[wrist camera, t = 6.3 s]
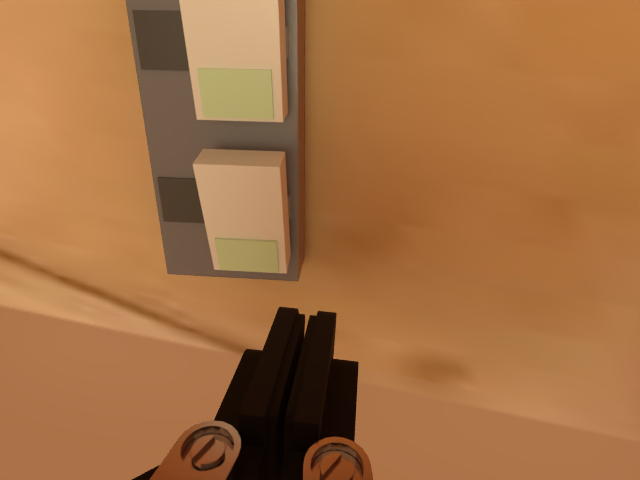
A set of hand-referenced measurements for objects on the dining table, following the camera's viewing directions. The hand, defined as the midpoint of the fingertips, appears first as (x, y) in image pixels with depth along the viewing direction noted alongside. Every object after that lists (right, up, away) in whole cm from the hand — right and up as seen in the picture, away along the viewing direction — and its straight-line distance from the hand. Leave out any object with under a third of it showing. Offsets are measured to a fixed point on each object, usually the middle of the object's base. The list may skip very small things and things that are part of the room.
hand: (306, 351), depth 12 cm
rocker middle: (-4, +15, +11) cm, 19 cm away
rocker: (-4, +5, +14) cm, 16 cm away
